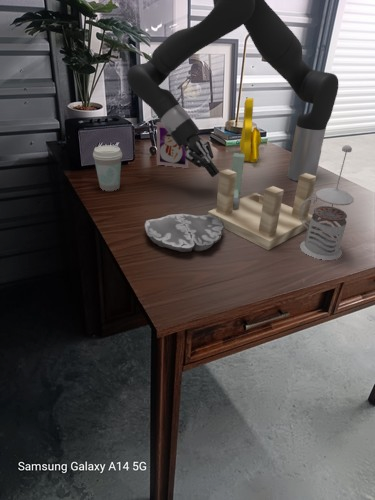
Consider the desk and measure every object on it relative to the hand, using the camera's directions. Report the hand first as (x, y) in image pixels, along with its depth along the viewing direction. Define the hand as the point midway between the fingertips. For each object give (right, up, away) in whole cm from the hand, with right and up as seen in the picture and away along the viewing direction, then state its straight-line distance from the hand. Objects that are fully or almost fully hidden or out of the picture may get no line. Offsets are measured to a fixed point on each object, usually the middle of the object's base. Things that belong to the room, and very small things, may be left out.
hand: (215, 174), depth 113 cm
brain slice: (-8, -20, -19) cm, 28 cm away
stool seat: (+11, -15, -10) cm, 21 cm away
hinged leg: (+5, -8, -4) cm, 10 cm away
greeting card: (-13, +9, +27) cm, 31 cm away
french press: (+23, -22, -20) cm, 37 cm away
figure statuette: (+15, +12, +34) cm, 39 cm away
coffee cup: (-32, -3, +6) cm, 33 cm away
